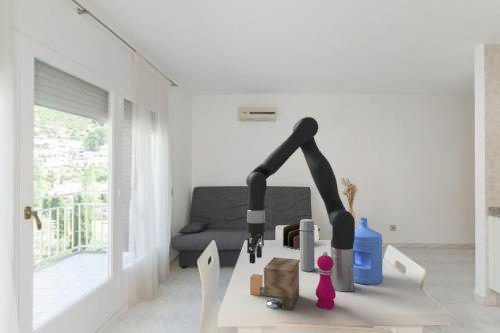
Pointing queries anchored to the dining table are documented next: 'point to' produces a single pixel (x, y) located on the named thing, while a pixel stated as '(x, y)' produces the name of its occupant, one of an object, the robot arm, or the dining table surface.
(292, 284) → the brown wooden block
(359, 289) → the dining table surface
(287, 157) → the robot arm
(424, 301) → the dining table surface
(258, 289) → the tan grey l-shaped piece
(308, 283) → the dining table surface
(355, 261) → the water jug
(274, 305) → the token
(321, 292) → the pepper mill
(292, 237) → the letter holder
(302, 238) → the water bottle
